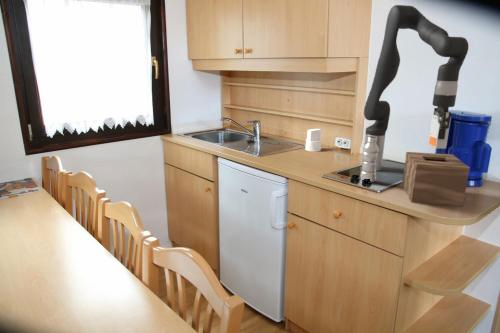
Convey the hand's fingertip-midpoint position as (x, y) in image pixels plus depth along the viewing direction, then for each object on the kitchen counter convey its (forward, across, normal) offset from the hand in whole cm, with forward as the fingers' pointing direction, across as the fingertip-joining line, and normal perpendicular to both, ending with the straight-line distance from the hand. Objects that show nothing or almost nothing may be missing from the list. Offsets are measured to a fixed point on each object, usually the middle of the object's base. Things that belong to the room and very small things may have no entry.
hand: (438, 137), depth 146 cm
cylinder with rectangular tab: (+24, -68, -49) cm, 87 cm away
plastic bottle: (+24, -12, -23) cm, 35 cm away
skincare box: (+4, 0, 0) cm, 4 cm away
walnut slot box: (+24, 0, 0) cm, 24 cm away
